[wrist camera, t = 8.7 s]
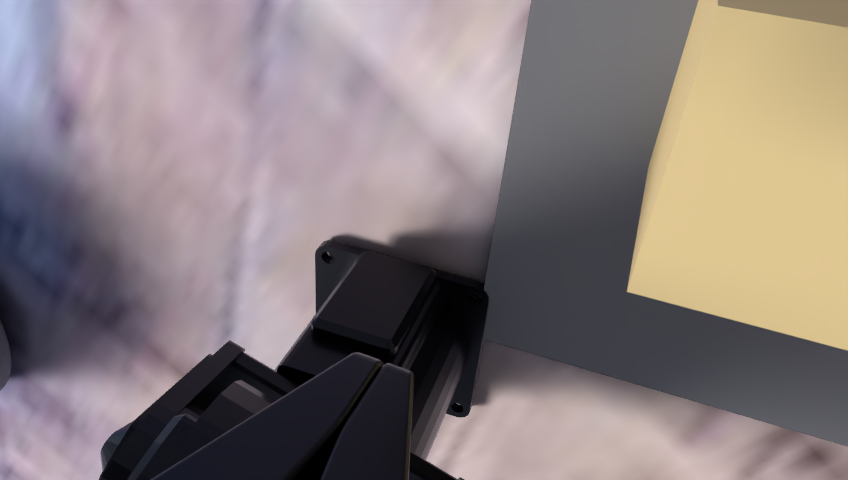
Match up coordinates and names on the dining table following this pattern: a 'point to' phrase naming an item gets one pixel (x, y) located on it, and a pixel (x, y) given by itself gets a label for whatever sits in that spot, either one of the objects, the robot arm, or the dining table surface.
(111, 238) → the dining table surface
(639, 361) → the charcoal mat
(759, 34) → the pale yellow block
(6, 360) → the planter
